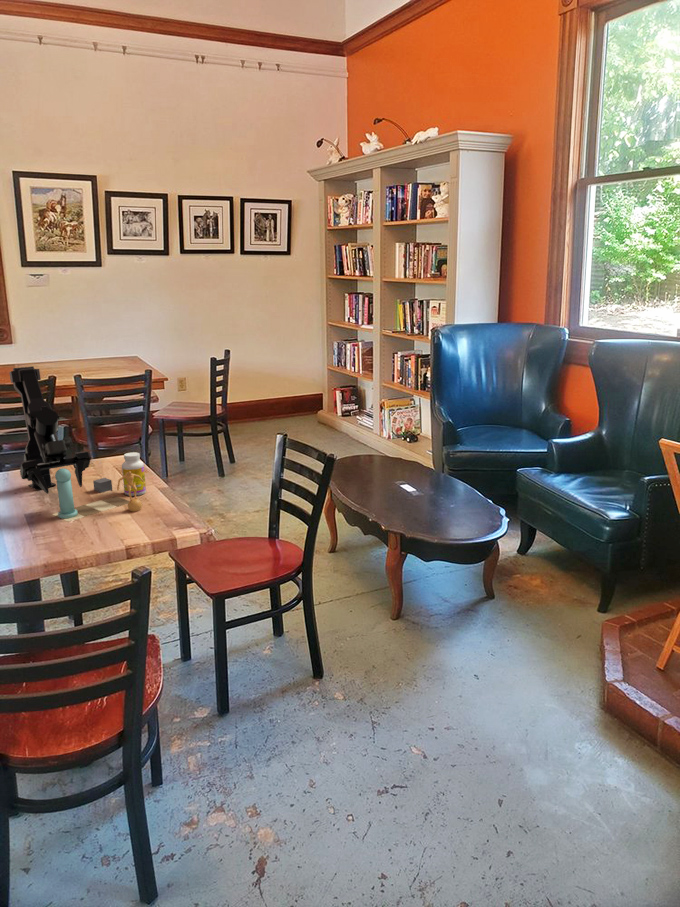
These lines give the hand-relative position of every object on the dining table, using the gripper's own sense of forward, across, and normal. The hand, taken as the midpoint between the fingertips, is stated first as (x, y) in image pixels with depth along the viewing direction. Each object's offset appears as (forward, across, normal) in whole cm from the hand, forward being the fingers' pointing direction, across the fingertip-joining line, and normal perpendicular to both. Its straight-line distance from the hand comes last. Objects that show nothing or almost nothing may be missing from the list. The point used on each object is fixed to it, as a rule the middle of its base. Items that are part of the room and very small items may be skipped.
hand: (64, 489), depth 194 cm
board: (+5, +8, +7) cm, 11 cm away
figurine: (+11, +17, +1) cm, 20 cm away
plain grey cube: (-6, +16, +18) cm, 24 cm away
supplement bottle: (0, +23, +12) cm, 26 cm away
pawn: (+6, 0, +5) cm, 8 cm away
